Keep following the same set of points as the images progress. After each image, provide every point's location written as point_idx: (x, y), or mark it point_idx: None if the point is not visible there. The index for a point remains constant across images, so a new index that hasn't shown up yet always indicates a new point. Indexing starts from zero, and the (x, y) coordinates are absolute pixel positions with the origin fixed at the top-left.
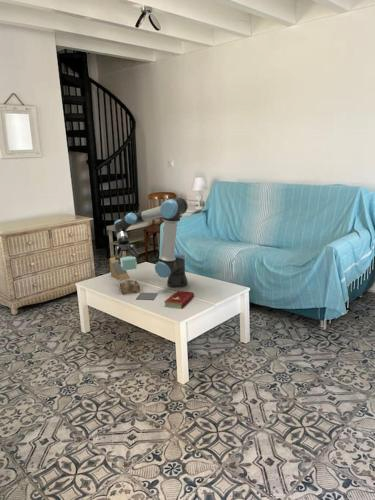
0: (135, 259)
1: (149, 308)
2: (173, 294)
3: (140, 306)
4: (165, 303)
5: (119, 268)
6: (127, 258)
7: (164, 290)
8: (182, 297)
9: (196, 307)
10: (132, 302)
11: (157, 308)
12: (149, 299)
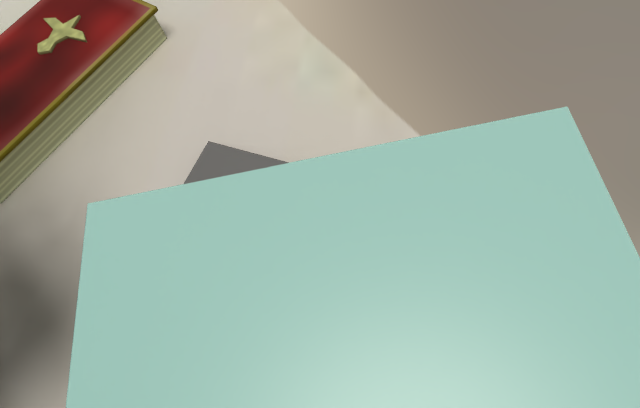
0: (106, 210)
1: (272, 20)
2: (42, 107)
3: (328, 54)
4: (155, 20)
5: None
6: (375, 361)
7: (41, 356)
8: (16, 50)
9: (11, 7)
10: (384, 129)
11: (222, 16)
12: (238, 150)
